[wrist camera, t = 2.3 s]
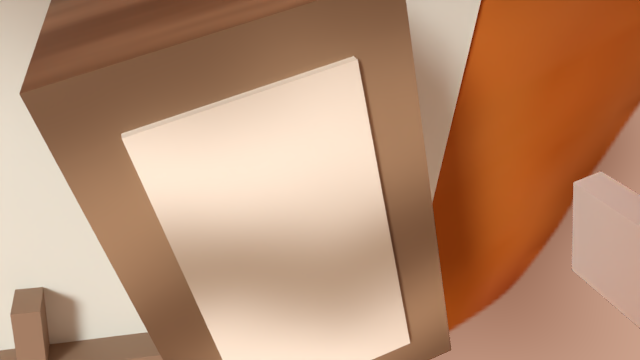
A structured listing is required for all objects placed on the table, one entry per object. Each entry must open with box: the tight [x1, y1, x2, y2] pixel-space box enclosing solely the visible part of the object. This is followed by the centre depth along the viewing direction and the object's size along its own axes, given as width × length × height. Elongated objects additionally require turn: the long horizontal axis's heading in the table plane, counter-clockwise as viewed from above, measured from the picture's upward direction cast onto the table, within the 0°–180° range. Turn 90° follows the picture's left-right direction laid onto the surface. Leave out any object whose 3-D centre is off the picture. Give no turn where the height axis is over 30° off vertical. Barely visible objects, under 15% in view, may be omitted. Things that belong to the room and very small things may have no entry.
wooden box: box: [19, 0, 451, 360], centre depth 18 cm, size 12×8×9 cm, turn 12°
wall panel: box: [0, 0, 481, 360], centre depth 23 cm, size 18×20×2 cm
